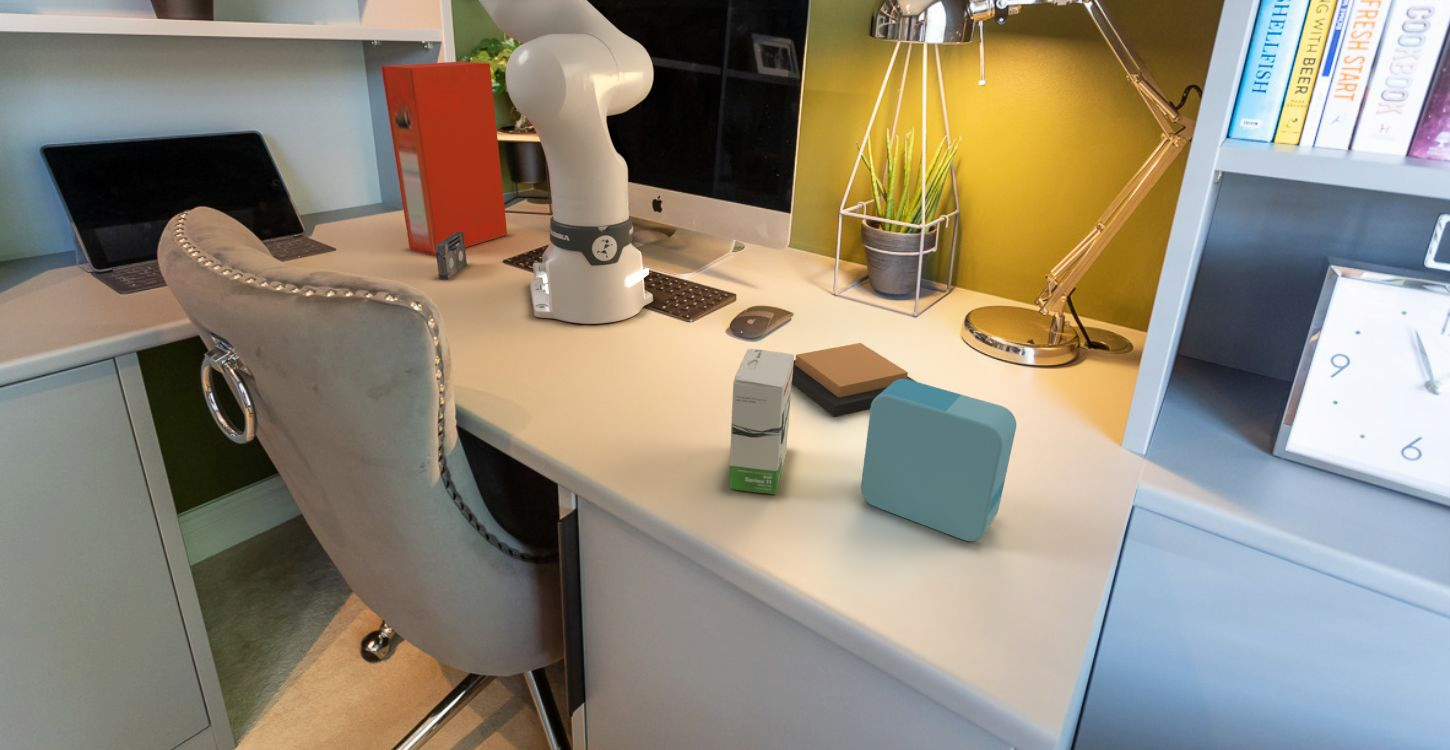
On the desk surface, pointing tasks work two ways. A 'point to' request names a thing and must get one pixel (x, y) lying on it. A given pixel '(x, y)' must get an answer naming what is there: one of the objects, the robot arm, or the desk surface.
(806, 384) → the pad stack
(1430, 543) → the desk surface
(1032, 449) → the desk surface
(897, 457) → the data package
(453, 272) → the mini dv tape
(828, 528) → the desk surface
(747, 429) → the ink box
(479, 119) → the file binder
